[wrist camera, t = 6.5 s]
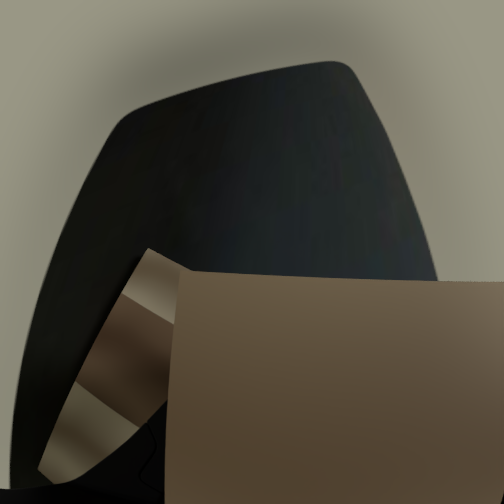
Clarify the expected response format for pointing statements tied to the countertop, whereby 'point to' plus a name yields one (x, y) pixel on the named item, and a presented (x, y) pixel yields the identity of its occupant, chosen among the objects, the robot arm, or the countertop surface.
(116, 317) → the subfloor panel
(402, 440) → the tall wooden post
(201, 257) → the countertop surface
